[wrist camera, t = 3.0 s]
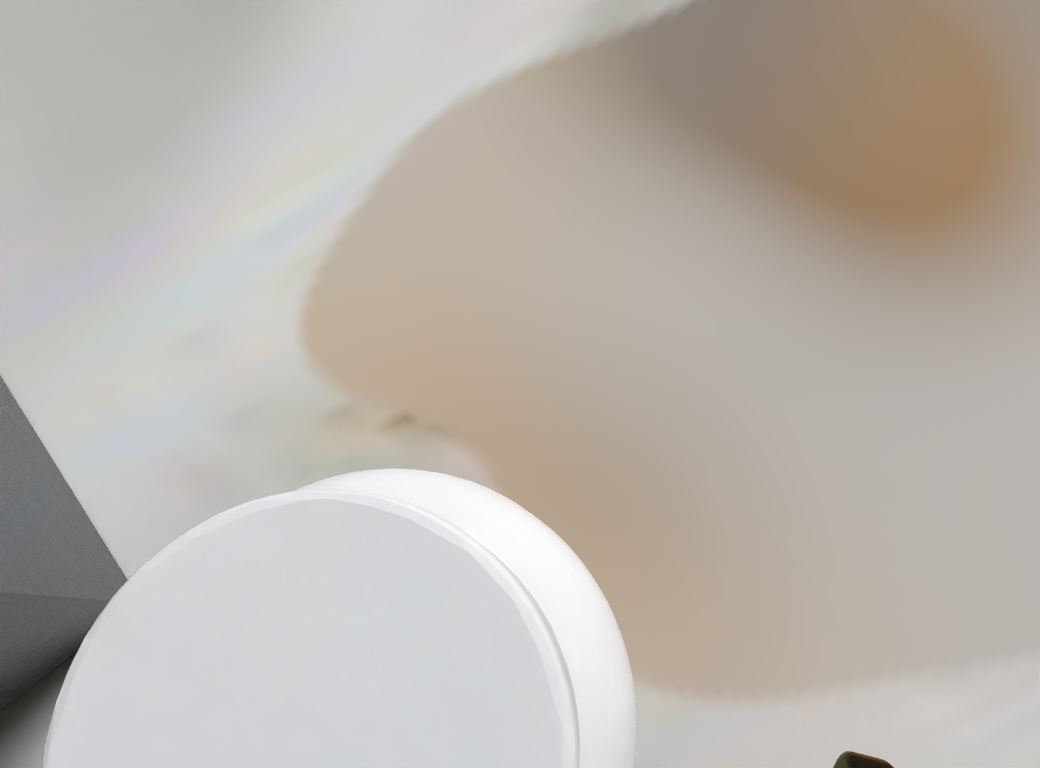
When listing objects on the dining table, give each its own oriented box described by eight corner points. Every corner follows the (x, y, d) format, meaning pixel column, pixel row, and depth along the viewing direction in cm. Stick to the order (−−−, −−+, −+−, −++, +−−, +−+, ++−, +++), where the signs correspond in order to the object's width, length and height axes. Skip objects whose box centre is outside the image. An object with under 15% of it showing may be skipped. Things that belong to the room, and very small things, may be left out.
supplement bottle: (449, 917, 14) (224, 1470, 5) (257, 675, 16) (-212, 739, 6) (668, 687, 15) (835, 775, 6) (469, 477, 16) (339, 267, 7)
